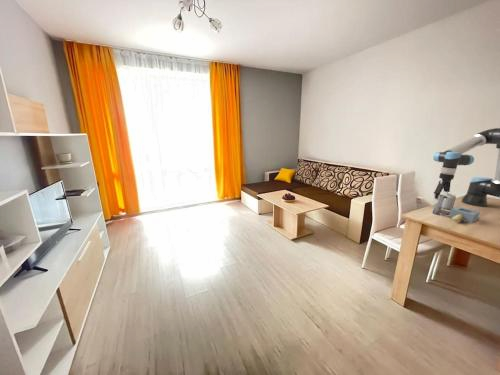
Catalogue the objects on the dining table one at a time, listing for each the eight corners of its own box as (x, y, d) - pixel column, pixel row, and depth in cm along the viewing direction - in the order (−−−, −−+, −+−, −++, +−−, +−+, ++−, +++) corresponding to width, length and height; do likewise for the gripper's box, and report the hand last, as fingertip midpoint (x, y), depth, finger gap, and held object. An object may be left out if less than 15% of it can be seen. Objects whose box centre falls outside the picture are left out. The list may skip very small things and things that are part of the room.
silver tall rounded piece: (430, 211, 159) (435, 193, 155) (442, 214, 153) (448, 196, 149) (427, 212, 157) (433, 194, 153) (440, 215, 151) (446, 197, 147)
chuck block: (455, 213, 156) (457, 206, 154) (477, 219, 146) (480, 211, 144) (443, 219, 145) (445, 211, 144) (466, 226, 135) (468, 218, 133)
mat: (438, 209, 163) (438, 208, 163) (451, 212, 157) (451, 212, 157) (433, 211, 160) (433, 210, 160) (446, 214, 153) (447, 214, 153)
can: (448, 207, 168) (453, 193, 165) (454, 210, 161) (459, 196, 158) (437, 206, 171) (441, 192, 167) (443, 209, 164) (447, 195, 160)
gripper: (447, 171, 155) (439, 197, 161) (433, 174, 143) (425, 202, 149) (461, 172, 149) (452, 200, 155) (447, 176, 137) (438, 205, 143)
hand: (439, 201), depth 152 cm, fingers open, 13 cm apart
